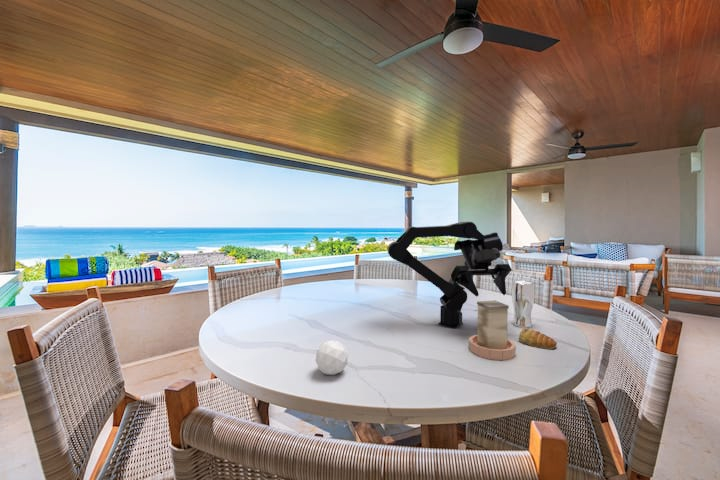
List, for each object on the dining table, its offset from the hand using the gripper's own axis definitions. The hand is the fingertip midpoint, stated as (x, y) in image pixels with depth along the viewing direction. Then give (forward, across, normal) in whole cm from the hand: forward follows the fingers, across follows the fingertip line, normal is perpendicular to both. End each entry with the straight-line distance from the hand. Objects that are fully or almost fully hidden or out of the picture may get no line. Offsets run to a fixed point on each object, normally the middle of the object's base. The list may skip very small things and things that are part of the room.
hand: (491, 295), depth 94 cm
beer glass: (+3, +18, +16) cm, 24 cm away
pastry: (+14, +11, +6) cm, 19 cm away
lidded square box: (+15, -5, +3) cm, 16 cm away
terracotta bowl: (+16, -5, +4) cm, 17 cm away
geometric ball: (+18, -50, +1) cm, 53 cm away
